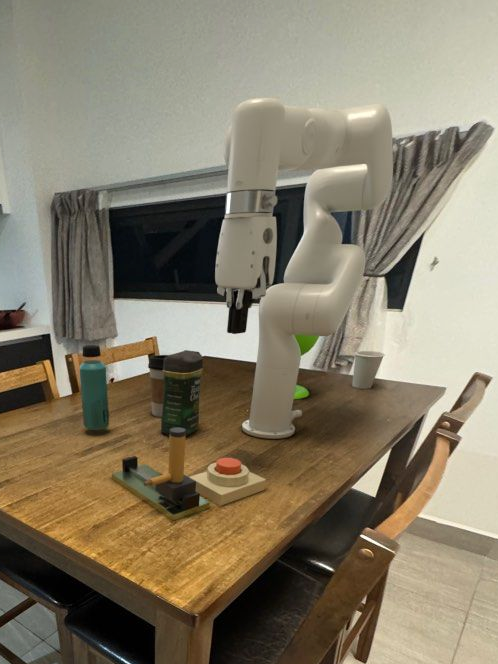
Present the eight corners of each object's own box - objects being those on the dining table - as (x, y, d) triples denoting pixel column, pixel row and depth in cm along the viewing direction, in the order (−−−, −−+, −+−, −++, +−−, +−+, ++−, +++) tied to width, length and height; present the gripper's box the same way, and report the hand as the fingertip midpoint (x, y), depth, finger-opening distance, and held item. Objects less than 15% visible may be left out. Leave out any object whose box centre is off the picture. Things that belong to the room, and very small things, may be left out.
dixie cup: (374, 384, 146) (383, 351, 141) (376, 390, 140) (386, 356, 134) (347, 382, 149) (354, 350, 143) (347, 388, 142) (355, 355, 137)
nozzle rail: (145, 469, 92) (145, 453, 90) (209, 508, 78) (211, 489, 76) (111, 479, 88) (111, 462, 86) (173, 521, 74) (173, 502, 72)
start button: (228, 464, 85) (229, 455, 84) (245, 472, 81) (246, 463, 81) (210, 469, 83) (211, 461, 82) (227, 478, 80) (228, 469, 79)
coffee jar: (184, 440, 106) (188, 357, 96) (156, 434, 110) (157, 353, 99) (203, 428, 112) (209, 349, 102) (176, 423, 116) (179, 346, 106)
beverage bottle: (106, 436, 108) (102, 348, 98) (80, 435, 110) (73, 347, 99) (112, 427, 114) (109, 343, 103) (87, 426, 115) (81, 342, 104)
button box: (230, 473, 90) (233, 454, 88) (264, 490, 83) (267, 470, 81) (188, 487, 85) (189, 467, 83) (220, 506, 78) (222, 485, 76)
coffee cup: (143, 416, 121) (143, 358, 113) (153, 408, 128) (154, 352, 120) (172, 420, 118) (174, 360, 110) (182, 410, 125) (184, 353, 117)
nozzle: (177, 487, 81) (180, 422, 75) (195, 497, 78) (199, 431, 71) (136, 500, 77) (135, 433, 71) (153, 512, 74) (153, 442, 67)
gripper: (302, 204, 68) (282, 335, 78) (233, 211, 78) (223, 326, 88) (268, 202, 64) (251, 340, 74) (200, 210, 75) (194, 330, 85)
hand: (236, 332), depth 81 cm, fingers closed
